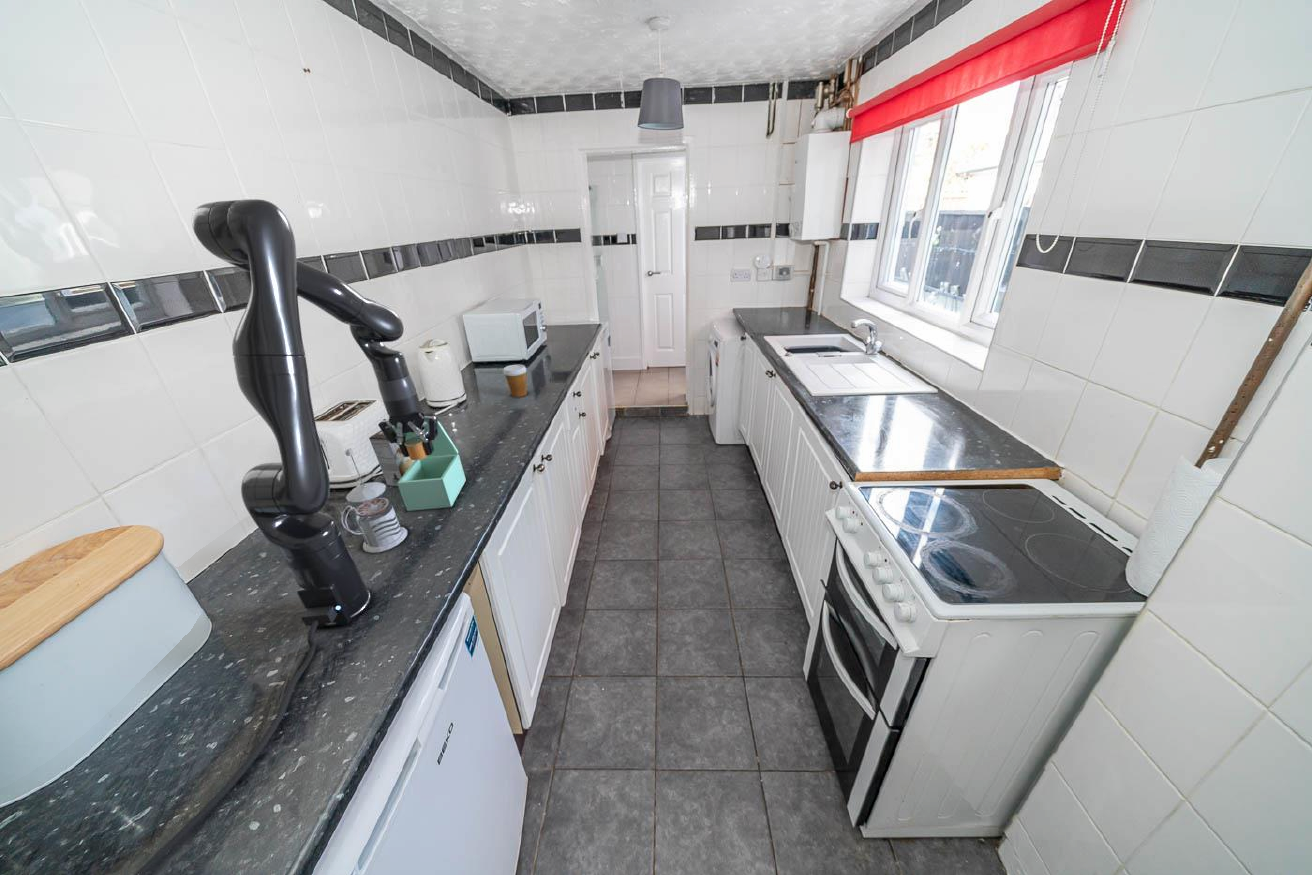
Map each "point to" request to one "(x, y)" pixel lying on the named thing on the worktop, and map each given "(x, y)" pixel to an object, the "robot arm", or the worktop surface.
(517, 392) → the disposable coffee cup
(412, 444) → the cylinder
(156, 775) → the worktop surface
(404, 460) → the coffee box
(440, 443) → the lid
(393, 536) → the french press
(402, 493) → the mint green open box
